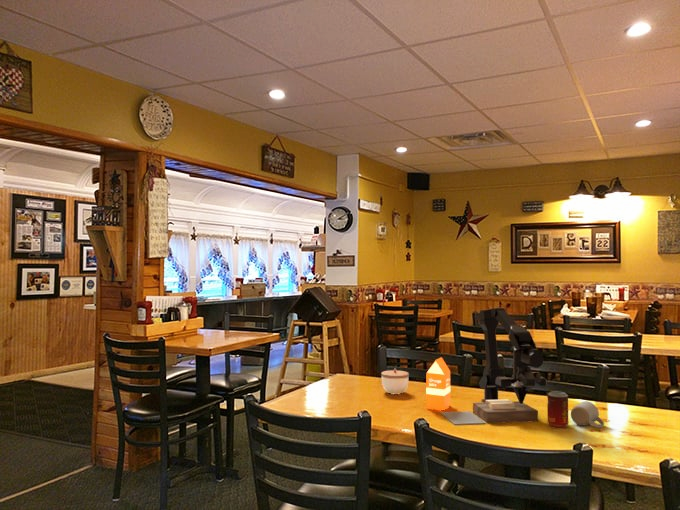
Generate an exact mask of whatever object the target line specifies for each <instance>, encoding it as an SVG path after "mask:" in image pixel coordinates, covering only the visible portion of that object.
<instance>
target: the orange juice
mask: <svg viewBox="0 0 680 510" xmlns="http://www.w3.org/2000/svg"><path fill="white" fill-rule="evenodd" d="M425 374H426V377H425V378H426V380H425V381H426V382H425V383H426V386H425V387H426V388H425V390H426V391H425V394H426V395H425V396H426V399H425V400H426V403H425V406H426V407H425V408H426V409H427V410H433V409H436V410H435V411H441V410H445V409H446V410H447V409H449V408H450V407H451V370H450V369H449V367H448V365H447V364H446V361H444V358H443V357H439V358H437V359H435V361H434V362H433V363H432V365H431V366H430V367H429V369H428V371H427V372H426V373H425ZM449 406H450V407H449ZM446 410H445V411H446Z"/></svg>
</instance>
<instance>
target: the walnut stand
mask: <svg viewBox="0 0 680 510" xmlns="http://www.w3.org/2000/svg"><path fill="white" fill-rule="evenodd" d="M512 402H513V403H514V408H512V409H491V408H489V407H488V406H486V405H485V402H483V401H482V402H473V403H472V413H473V414H474V415H476V416H477V417H478V418H480V419H481V420H482V421H484V422H485V423H486V424H499V423H503V422H504V423H526V422H527V423H528V421H533V422H539V410H538V409H536V408H535V407H532V406H530V405H528V404H526V403H525V402H523V404H520V403H519V401H518V400H517V401H512Z"/></svg>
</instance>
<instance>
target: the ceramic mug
mask: <svg viewBox="0 0 680 510" xmlns="http://www.w3.org/2000/svg"><path fill="white" fill-rule="evenodd" d="M599 413H600V412H599V409H598V407H597V405H595V404H594V403H593V402H590V401H581V402H580V403H578V404H577V405H574V406H573V407H572V409H571V410H570V418H571V419H572V421H573V422H574V424H576V425H578V426H587V425H591V426H592V427H594V428H597V429H602V428H603V427H604V425H605V422H604V421H603V419H601V417H599V415H600V414H599ZM596 422H597V423H596Z"/></svg>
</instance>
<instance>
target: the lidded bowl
mask: <svg viewBox="0 0 680 510" xmlns="http://www.w3.org/2000/svg"><path fill="white" fill-rule="evenodd" d="M409 374H410V373H409V372H407V371H403V370H397V368H393V370H384V371H382V372H381V374H380V375H381V384H382V387H383V389H384V390H385V392H388V393H395V394H398V393H402V394H403V393H404V392H405V391H406V390H407V388H408V386H409V376H410V375H409ZM388 393H387V394H388ZM398 395H399V394H398Z"/></svg>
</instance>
